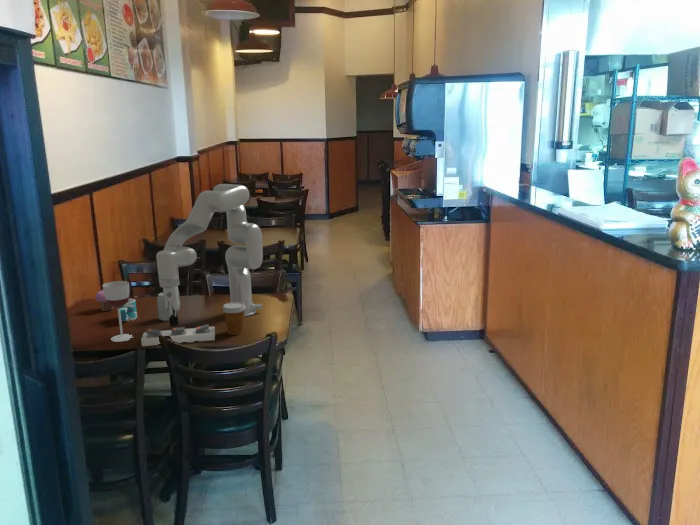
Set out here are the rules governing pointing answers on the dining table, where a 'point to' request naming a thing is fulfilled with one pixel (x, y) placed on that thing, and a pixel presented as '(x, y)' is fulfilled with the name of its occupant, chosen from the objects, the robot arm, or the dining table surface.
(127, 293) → the wineglass
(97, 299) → the cupcake
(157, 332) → the rocker
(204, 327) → the rocker
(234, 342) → the dining table surface
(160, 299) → the can
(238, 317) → the disposable coffee cup
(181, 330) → the rocker middle
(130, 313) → the mug
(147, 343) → the power strip
